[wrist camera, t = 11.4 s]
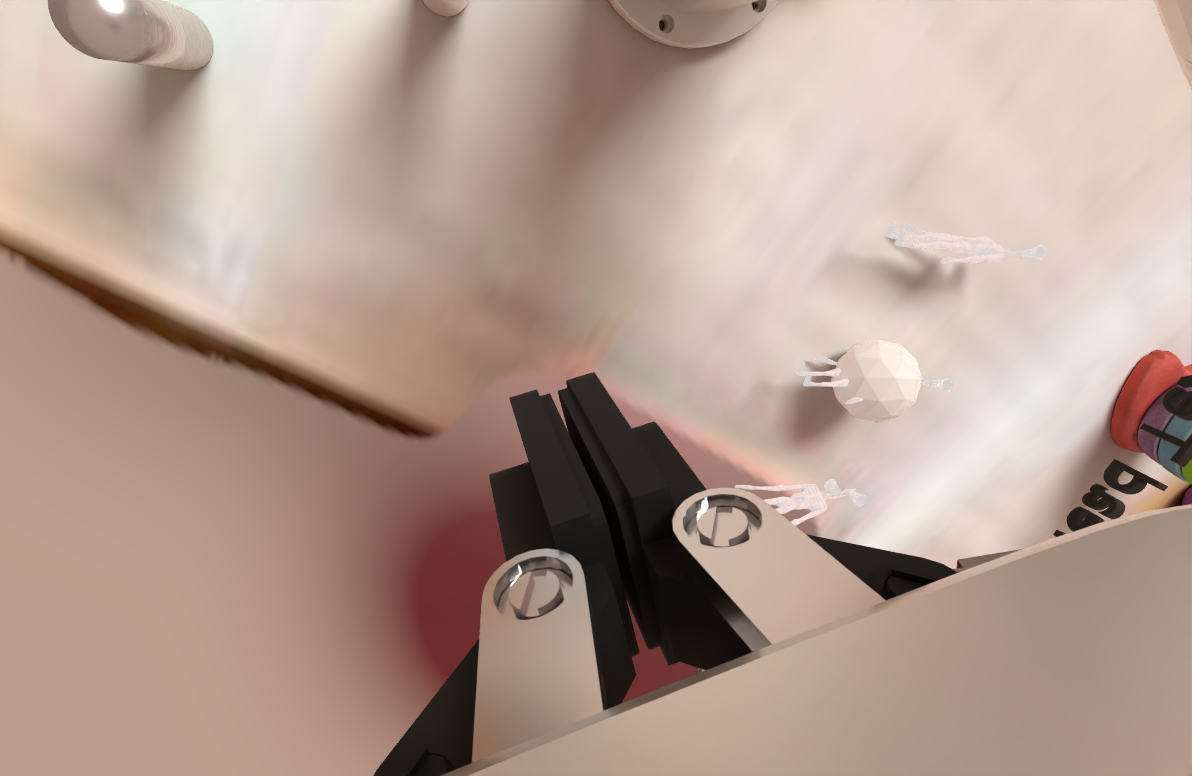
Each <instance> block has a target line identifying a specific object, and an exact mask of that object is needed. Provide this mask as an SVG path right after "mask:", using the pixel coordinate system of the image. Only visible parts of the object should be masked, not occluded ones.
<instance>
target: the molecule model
mask: <svg viewBox="0 0 1192 776" xmlns="http://www.w3.org/2000/svg"><path fill="white" fill-rule="evenodd" d="M902 225H904V226H901V231H900V233H899V234H898V235H897V234H895V233H894V232H893V230H894V229H895V227H896V222H895V221H892V222H891V224H890V226H889V228H888V231H887V233H886V235H885V236H886V237H887V238H892V239H895V238H896V241H895V244H894V245H895V246H900V247H910V248H920V249H933V250H937V249H939V248H944V249H949V250H952V251H953V252H954V253H963V252H965V253H969V254H973V256H971V257H967V258H962V259H954V258H953V257H945V258H949V259H942V260H941V262H940V263H942V264H948V263H951V262H967V263H971V264H974V263H979V262H983V261H986V262H999V261H1001V260H1002V259H1003V258H1004V257H1007V256H1010V255H1013V256H1016V257H1027V258H1033V259H1037V260H1042V259H1044V257H1045V255H1046V249H1045V247H1044V246H1043V245H1038V246H1036V247H1034V248H1031V249H1027V250H1024V251H1021V250H1019V251H1018V250H1017V251H1009V250H1006V249H1003V248H1002V247H1001V246H1000V245H998V244H996V243H995V242H994V241H993V240H992V239H991V238H988V237H986V236H980V237H977V238H968V237H960V236H952V235H951V234H941V233H934V232H927V231H923V230H921V229H919V228H917V227H916V226H914V225H912V224H902ZM909 225H910V226H909ZM906 226H908V227H906ZM902 227H904V228H902ZM904 229H905V230H908V231H912V232H915V233H923V234H920V235H904V234H905V230H904ZM902 239H908V240H919V241H929V240H932V241H935V242H932V243H923V244H919V243H913V244H912V243H905V242H904V241H903V240H902ZM814 359H815V361H820V362H823V363H827V364H830V365H836V368H835V369H834V370H830V371H825V372H806V371H803V369H804V366H805V363H804V362H803V361H801V362H800V364H799V367H798V370H797V372H796V375H799V376H806V378H805V380H804V383H803V385H804V386H827V387H833V389H834V393H835V396H836V399H837V400H838V401H839V402H840V403H841V404H842V406H843V407H844V408H845V409H846V410H847V411H848V412H849V413H850V414H851V415H852V416H855V417H858V418H862V419H865V420H869V421H872V422H879V421H883V420H887V419H891V418H894V417H898V416H899V415H900V414H902V413H903V412H904V411H905V410H907V409H908V408H909V407H910V406H912V405H913V404H914V403H915V401H916V398H917V395H918V392H919V389H920V386H921V385H922V384H925V385H924V386H934V387H936V388H938V389H941V390H942V391H943V392H946V393H947V392H949V391H951V389H952V387H953V382H952V380H951V379H950V378H946V379H942V380H932V379H927V380H926V381H924V380H922V379H921V375H920V371H919V367H918V363H917V360H916V359H915V358H914V357H913V356H912V355H910V354H909V353H908V352H907V351H906V350H905V349H904V348H903V347H902V346H901V345H900V344H896V343H892V342H887V341H882V340H877V339H874V340H870V341H866V342H863V343H859V344H855V345H853V346H852V347H851V348H850V349H849V350H848V351H847V352H846V353H845V354H844V355H843V356H842V357H841V358H840V359H839V360H838V362H834V361H833V360H830V359H829V358H827V357H822V356H820V357H816V358H814ZM823 375H824V376H832V379H831V382H822V383H814V382H811V381H810V379H811V376H823ZM1177 384H1178V385H1180V386H1181V387H1183V388H1189V387H1192V375H1189V376H1183V377H1181V378H1180V379H1179V380H1178V382H1177ZM1183 388H1180V387H1175V388H1173V389H1172V390H1170V391H1169V392H1168V393H1167V394H1166V395H1165V397H1164V399H1163V406H1164V408H1165V409H1166V410H1167V411H1168V412H1170V413H1172V414H1173V415H1175V416H1176V417H1178V418H1180V419H1183V420H1187V421H1192V391H1189V392H1188V391H1186V390H1185V389H1183ZM1182 399H1183V400H1182ZM1181 400H1182V401H1181ZM1180 401H1181V402H1180ZM1140 429H1142V430H1144V431H1145V432H1147V433H1149V434H1151V435H1153V436H1156V437H1158V438H1160V439H1162V440H1164V441H1167V442H1169V443H1171V444H1173V445H1175V446H1178V447H1180V448H1179V450H1178V451H1177V452H1176V453H1175V454H1174V455H1173V457H1172V458H1171V459H1170V460H1171V461H1173V462H1175V463H1176V464H1178V465H1180V466H1182V467H1185V466H1186V465H1187V464H1188V463H1189V461H1190V460H1191V459H1192V434H1191V435H1190V436H1189V438H1188V439H1187V440H1186V441H1183V440H1181V439H1179V438H1176V437H1174V436H1172V435H1170V434H1167V433H1165V432H1163V431H1161V430H1158V429H1156V428H1154V427H1152V426H1149V425H1147V424H1145V423H1143V425H1142V426H1141V427H1140ZM1123 471H1126V472H1128V473H1130V474H1132V475H1134V477H1133V479H1132V480H1131V481H1130V482H1129V483H1127V484H1124V485H1121V484H1119V482H1118V477H1119V475H1120V474H1121V473H1122V472H1123ZM1104 480H1105V482H1106V483H1107V484H1108V485H1109V486H1110V487H1112V488H1114V489H1116V490H1118V491H1120V492H1122V493H1125V494H1136V493H1139V492H1141V491H1142V490H1143V489H1144V488H1145V487H1146V485H1147V483H1149V484H1151V485H1153V486H1155V487H1157V488H1159V489H1161V490H1163V491H1165V489H1166V488H1167V487H1168V486H1166V485H1164V484H1162V483H1160V482H1158V481H1156V480H1154V479H1153V478H1151V477H1149V476H1147V475H1145V474H1143V473H1141V472H1139V471H1137V470H1135V469H1133V468H1131V467H1129V466H1127V465H1125V464H1123V463H1121V462H1119V461H1117V460H1115V459H1114V460H1113V461H1112V463H1111V464H1110V465H1109V466H1108V468H1107V469H1106V470H1105V472H1104ZM735 487H736V488H744V489H749V490H754V489H760V490H771V491H781V490H796V489H804V490H803V491H802V492H800V493H796V494H794V495H792V497H784V496H782V497H778V498H773V499H766V500H764V501H765V502H767V503H768V504H769V505H777V506H778V507H779V508H777V509H775V510H776V511H778V512H779V513H780V514H784V513H787V512H789V511H790V510H793V509H797V510H799V509H810V510H812V511H813V512H811V513H809V514H807V515H805V516H803V517H802V518H800V519H794V520H793V521H791V523H792V524H793V525H795V526H796V525H798V524H799V523H801V522H803V521H805V520H806V519H810V518H812V517H814V516H816V515H819V514H821V513H822V512H825V511H826V510H827V505H826V502H825V501H826V499H833V497H835V496H839V495H842V494H845V495H849V496H850V497H851V499H852V500H853V501H854V504H855V505H856V506H857V507H860V506H863V505H864V504H865V502H866V499H867V498H866V496H865V495H862V494H858V493H856V492H855V491H856V488H852V489H849V488H846V489H845V490H843V491H841V490H840V489H839V488H838V486H837V484H836V481H835V480H834V479H830V480H828V481H827V482H826V483H825V485H824V487H825V489H826V490H830V492H832V493H828V494H827V493H823V492H821V491H819V489H818V487H817V486H816V485H815V484H800V485H786V486H782V485H777V486H775V487H754V486H748V485H736V486H735ZM1106 490H1108V489H1107V488H1105V487H1103V486H1101V485H1099V484H1094V485H1092V486H1091V488H1090V491H1091V492H1089V493H1087V494H1085V495H1084V496H1083V498H1082V501H1083V503H1084V504H1085V505H1086V506H1088V507H1090V508H1093V509H1095V510H1103V509H1105V508H1107V507H1109V508H1108V509H1106V510H1105V511H1102V512H1099V513H1100V514H1102V515H1104V516H1106V517H1108V518H1110V519H1117V518H1119V517H1120V516H1121V515H1122V514H1123V513H1124V511H1125V505H1124V503H1123V502H1122V501H1120V500H1118V499H1116V498H1115V497H1113V496H1111V495H1109V494H1108V493H1106V492H1105V491H1106ZM824 492H826V491H824ZM847 493H848V494H847ZM845 495H842V496H839V497H843V496H845ZM830 497H831V498H830ZM839 497H837V498H839ZM1099 498H1102V499H1100V500H1098V499H1099ZM1097 500H1098V501H1097ZM1084 518H1085V519H1084ZM1083 519H1084V520H1083ZM1101 522H1104V520H1103V519H1102V518H1101V517H1099V516H1097V515H1095V514H1093V513H1092V512H1090V511H1089V510H1086V509H1084V508H1082V507H1077V508H1075V509H1074V510H1072V511H1071V512H1070V513H1069V515H1068V517H1067V524H1068V526H1069V528H1070V529H1071V530H1072V531H1073V532H1075V531H1078V530H1081V529H1084V528H1086V527H1089V526H1092V525H1095V524H1098V523H1101ZM1065 534H1066V533H1064V532H1061V531H1059V530H1056V532H1055V533H1054V534H1053V535H1055V536H1056V537H1059V536H1062V535H1065Z"/></svg>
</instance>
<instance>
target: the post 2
mask: <svg viewBox="0 0 1192 776" xmlns="http://www.w3.org/2000/svg"><path fill="white" fill-rule="evenodd" d="M423 2H424V3H425V5H426V6H427V7H428V8H429V9H430V10H431V11H433V12H434V13H436V14H438V15H441V16H453V15H456V14H458V13H460V12H461V11H462V10H463V9H464V8H465V7H466V5H467V4H468V2H469V0H423Z"/></svg>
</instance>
